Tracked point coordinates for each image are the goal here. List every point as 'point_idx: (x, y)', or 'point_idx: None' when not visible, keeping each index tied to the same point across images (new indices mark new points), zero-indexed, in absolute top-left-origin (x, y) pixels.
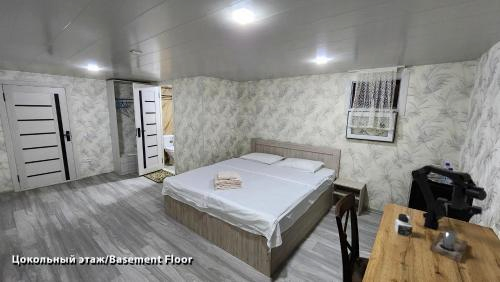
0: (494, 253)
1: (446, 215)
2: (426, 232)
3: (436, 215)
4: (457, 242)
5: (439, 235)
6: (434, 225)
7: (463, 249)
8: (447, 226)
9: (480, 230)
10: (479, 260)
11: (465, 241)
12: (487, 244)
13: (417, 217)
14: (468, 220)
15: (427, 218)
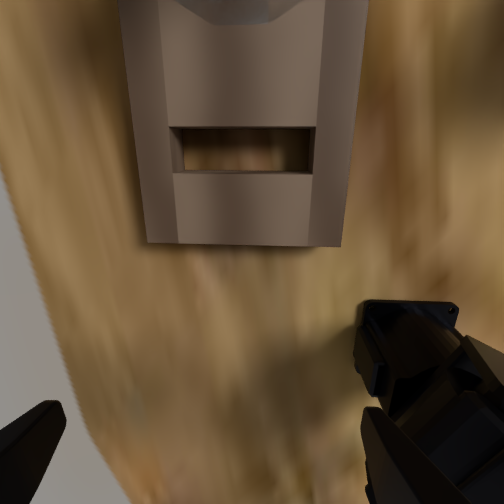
0: (35, 265)
1: (375, 426)
2: (426, 207)
3: (476, 405)
4: (202, 173)
5: (338, 160)
6: (391, 336)
7: (127, 30)
8: (305, 425)
9: (164, 494)
10: (44, 43)
11: (160, 235)
12: (95, 356)
13: None
14: (2, 439)
15: (501, 355)
